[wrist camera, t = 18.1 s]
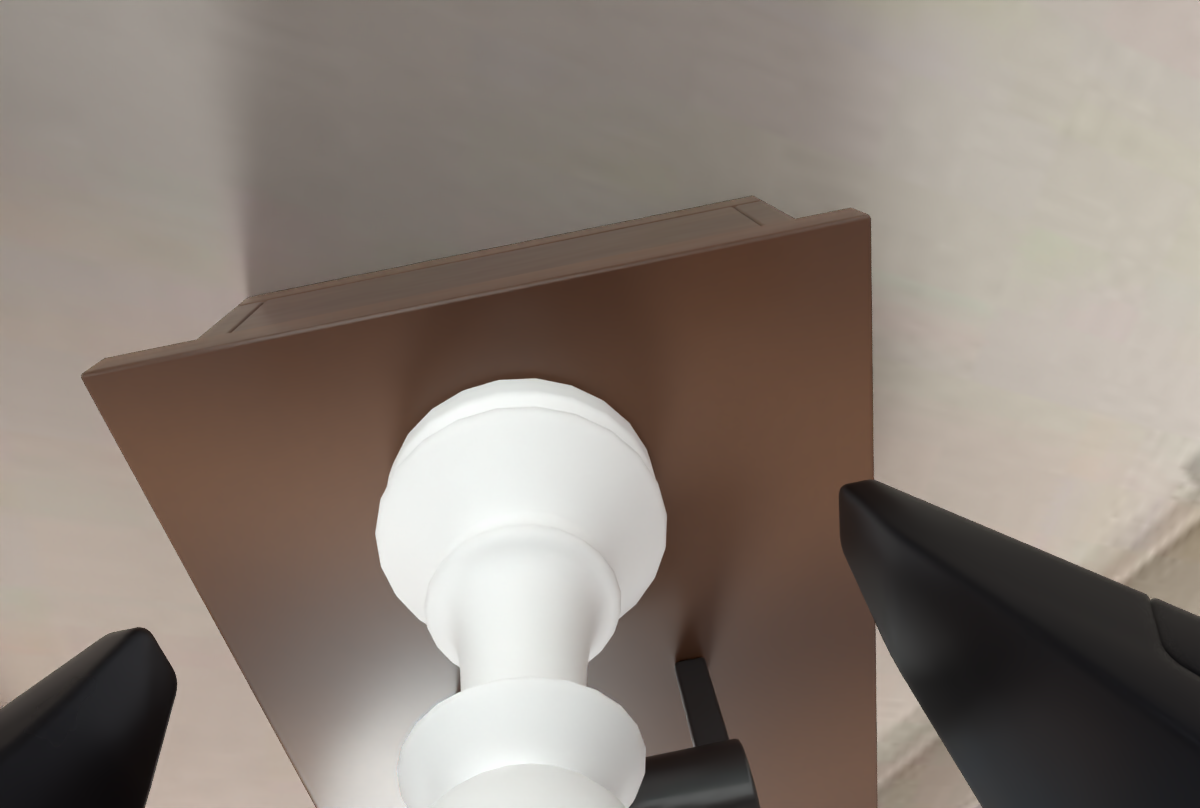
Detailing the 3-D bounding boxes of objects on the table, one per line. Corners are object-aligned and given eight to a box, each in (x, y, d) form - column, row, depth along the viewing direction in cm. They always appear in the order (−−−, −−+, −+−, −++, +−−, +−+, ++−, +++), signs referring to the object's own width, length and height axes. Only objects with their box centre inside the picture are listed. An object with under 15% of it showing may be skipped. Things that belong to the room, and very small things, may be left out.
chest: (245, 296, 19) (122, 397, 13) (754, 194, 19) (854, 249, 13) (417, 711, 25) (386, 896, 20) (789, 634, 26) (865, 796, 20)
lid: (102, 357, 13) (-120, 507, 8) (853, 205, 13) (1022, 274, 8) (386, 897, 20) (346, 1131, 15) (866, 797, 20) (961, 1000, 15)
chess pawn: (332, 483, 13) (21, 1150, 5) (541, 317, 12) (572, 811, 4) (511, 636, 15) (495, 1294, 7) (703, 503, 14) (943, 1087, 6)
